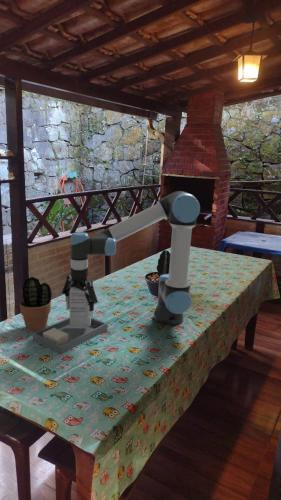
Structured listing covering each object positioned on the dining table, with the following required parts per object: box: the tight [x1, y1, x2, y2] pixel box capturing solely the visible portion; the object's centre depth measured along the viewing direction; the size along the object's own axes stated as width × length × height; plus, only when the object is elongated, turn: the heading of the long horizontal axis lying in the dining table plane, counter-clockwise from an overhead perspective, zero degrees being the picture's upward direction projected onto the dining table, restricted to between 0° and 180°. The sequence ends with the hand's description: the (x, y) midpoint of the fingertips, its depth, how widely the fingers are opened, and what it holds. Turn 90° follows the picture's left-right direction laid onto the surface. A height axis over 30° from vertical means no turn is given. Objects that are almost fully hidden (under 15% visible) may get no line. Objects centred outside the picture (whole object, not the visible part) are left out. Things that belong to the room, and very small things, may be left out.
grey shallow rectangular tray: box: [32, 316, 108, 354], centre depth 163 cm, size 18×28×4 cm, turn 144°
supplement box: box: [69, 287, 92, 326], centre depth 165 cm, size 10×9×17 cm
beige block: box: [43, 328, 68, 345], centre depth 156 cm, size 9×6×4 cm, turn 54°
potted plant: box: [19, 276, 53, 332], centre depth 167 cm, size 14×14×25 cm
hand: (79, 313), depth 165 cm, fingers closed on supplement box, 13 cm apart
